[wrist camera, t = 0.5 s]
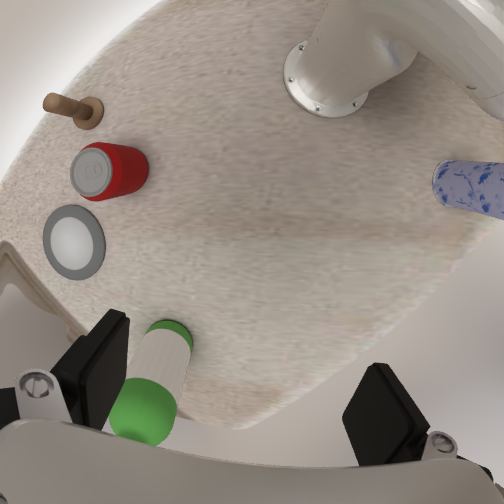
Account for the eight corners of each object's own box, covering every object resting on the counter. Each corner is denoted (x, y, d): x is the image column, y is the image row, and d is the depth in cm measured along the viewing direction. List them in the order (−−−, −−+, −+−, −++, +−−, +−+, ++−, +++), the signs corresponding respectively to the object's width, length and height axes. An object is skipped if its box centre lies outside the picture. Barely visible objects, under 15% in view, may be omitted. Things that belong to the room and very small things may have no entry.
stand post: (81, 96, 37) (42, 81, 26) (108, 100, 37) (71, 83, 27) (72, 127, 38) (30, 120, 27) (98, 132, 38) (59, 124, 28)
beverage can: (102, 156, 39) (59, 154, 28) (143, 140, 39) (108, 131, 28) (114, 199, 41) (73, 211, 30) (155, 185, 41) (124, 191, 29)
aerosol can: (452, 215, 43) (538, 244, 24) (424, 186, 42) (515, 203, 23) (472, 180, 42) (558, 194, 22) (445, 149, 40) (536, 150, 21)
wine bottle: (203, 341, 47) (172, 508, 18) (172, 365, 49) (127, 519, 20) (168, 308, 46) (95, 465, 17) (138, 335, 47) (62, 481, 18)
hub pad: (50, 197, 41) (47, 198, 40) (111, 215, 42) (109, 216, 41) (43, 266, 43) (40, 267, 43) (100, 288, 45) (98, 290, 44)
